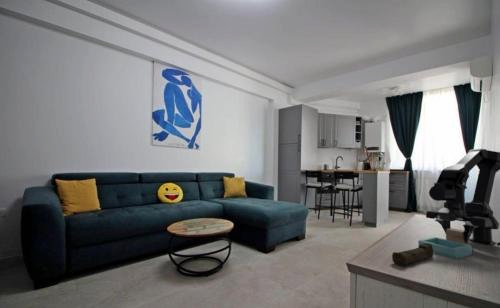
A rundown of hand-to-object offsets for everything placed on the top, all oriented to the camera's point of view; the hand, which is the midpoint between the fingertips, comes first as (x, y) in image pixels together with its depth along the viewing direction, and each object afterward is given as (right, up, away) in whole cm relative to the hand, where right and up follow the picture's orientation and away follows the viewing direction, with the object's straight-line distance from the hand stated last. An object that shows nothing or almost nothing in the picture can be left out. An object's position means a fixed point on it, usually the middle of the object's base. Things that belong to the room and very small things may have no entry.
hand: (457, 240), depth 89 cm
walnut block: (0, -1, 0) cm, 1 cm away
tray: (-12, -1, -8) cm, 14 cm away
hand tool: (-29, 0, -16) cm, 33 cm away
